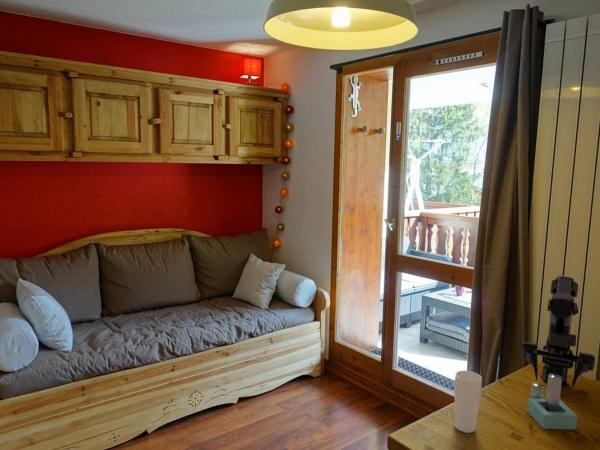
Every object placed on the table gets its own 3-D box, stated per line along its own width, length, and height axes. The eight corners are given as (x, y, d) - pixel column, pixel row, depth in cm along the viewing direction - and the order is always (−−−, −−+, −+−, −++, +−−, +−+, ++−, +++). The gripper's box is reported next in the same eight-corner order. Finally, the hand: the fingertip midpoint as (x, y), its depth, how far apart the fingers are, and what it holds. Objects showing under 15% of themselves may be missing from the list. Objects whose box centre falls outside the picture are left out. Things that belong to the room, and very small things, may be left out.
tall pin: (550, 415, 135) (554, 372, 133) (560, 422, 132) (564, 378, 130) (541, 417, 134) (545, 374, 132) (551, 424, 130) (555, 379, 129)
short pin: (539, 396, 146) (540, 382, 146) (544, 401, 143) (546, 387, 142) (528, 396, 146) (529, 382, 146) (533, 401, 143) (535, 387, 142)
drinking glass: (474, 422, 131) (478, 371, 129) (481, 436, 124) (485, 382, 122) (449, 420, 131) (452, 369, 129) (454, 434, 125) (458, 380, 122)
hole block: (557, 411, 137) (559, 398, 137) (575, 429, 128) (577, 415, 128) (527, 411, 137) (528, 398, 137) (542, 428, 128) (544, 414, 128)
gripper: (525, 315, 141) (518, 364, 134) (598, 328, 132) (595, 380, 124) (525, 332, 149) (518, 379, 141) (594, 345, 140) (591, 395, 132)
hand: (554, 383), depth 135 cm, fingers open, 9 cm apart
